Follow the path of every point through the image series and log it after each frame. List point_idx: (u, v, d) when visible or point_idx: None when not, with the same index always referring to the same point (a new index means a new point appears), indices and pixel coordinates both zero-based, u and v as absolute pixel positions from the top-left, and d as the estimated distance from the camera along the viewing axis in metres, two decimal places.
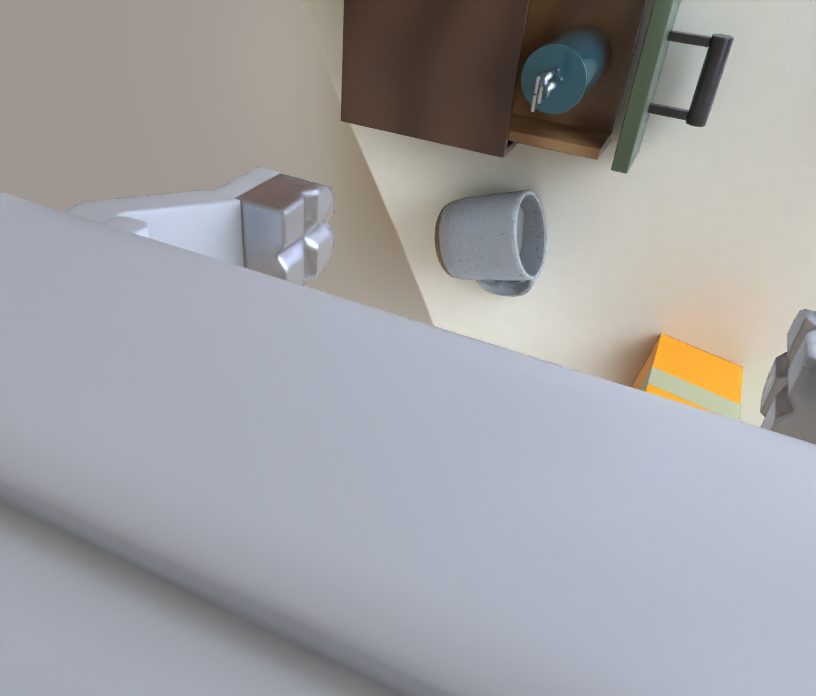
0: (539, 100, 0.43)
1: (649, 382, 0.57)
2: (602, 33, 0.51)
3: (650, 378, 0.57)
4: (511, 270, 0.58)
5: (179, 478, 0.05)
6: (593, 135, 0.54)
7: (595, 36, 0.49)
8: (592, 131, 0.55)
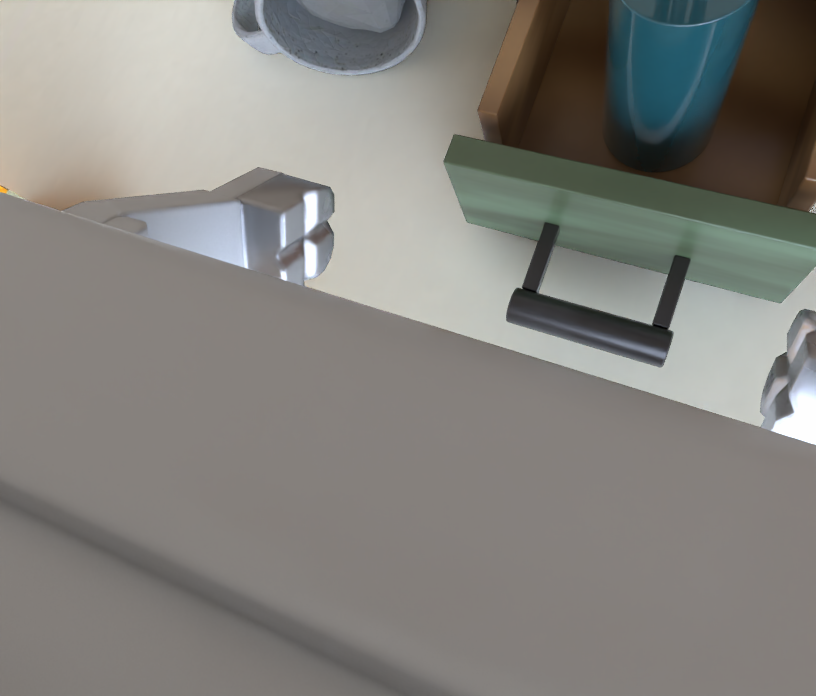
0: None
1: (10, 193, 0.27)
2: (697, 151, 0.27)
3: None
4: None
5: (177, 478, 0.05)
6: (514, 131, 0.29)
7: (709, 122, 0.26)
8: (519, 137, 0.30)
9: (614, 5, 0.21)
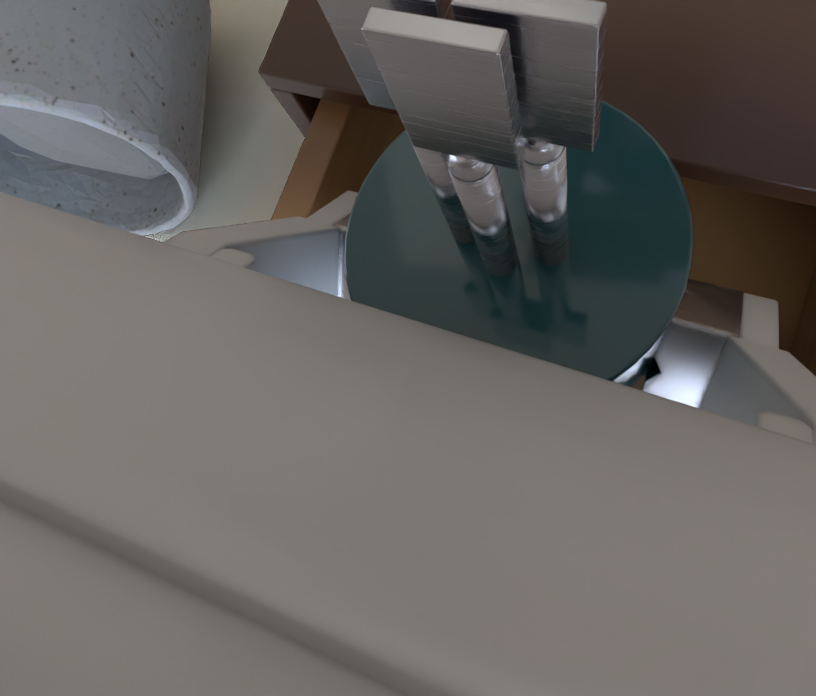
0: (390, 24, 0.05)
1: None
2: None
3: None
4: None
5: (177, 478, 0.05)
6: None
7: None
8: None
9: None
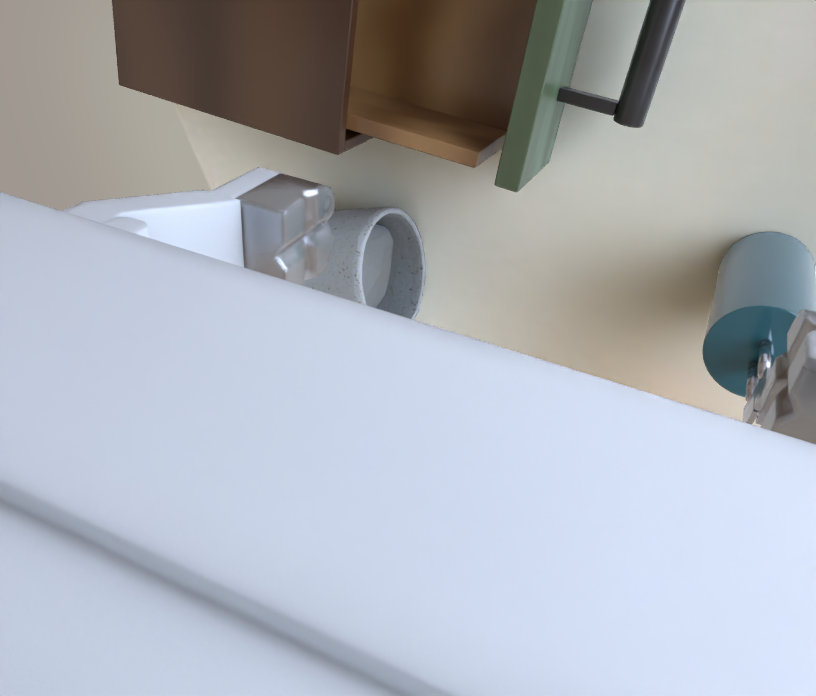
0: (761, 420, 0.25)
1: None
2: (807, 251, 0.34)
3: None
4: None
5: (177, 478, 0.05)
6: (478, 131, 0.36)
7: (805, 264, 0.32)
8: (480, 125, 0.36)
9: None
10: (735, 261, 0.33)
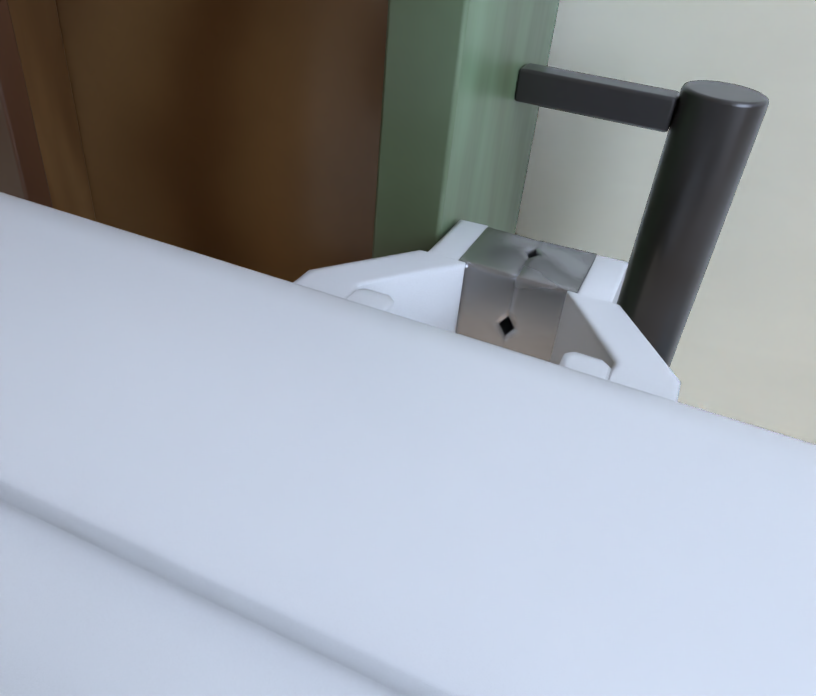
0: None
1: None
2: None
3: None
4: None
5: (177, 478, 0.05)
6: None
7: None
8: None
9: None
10: None
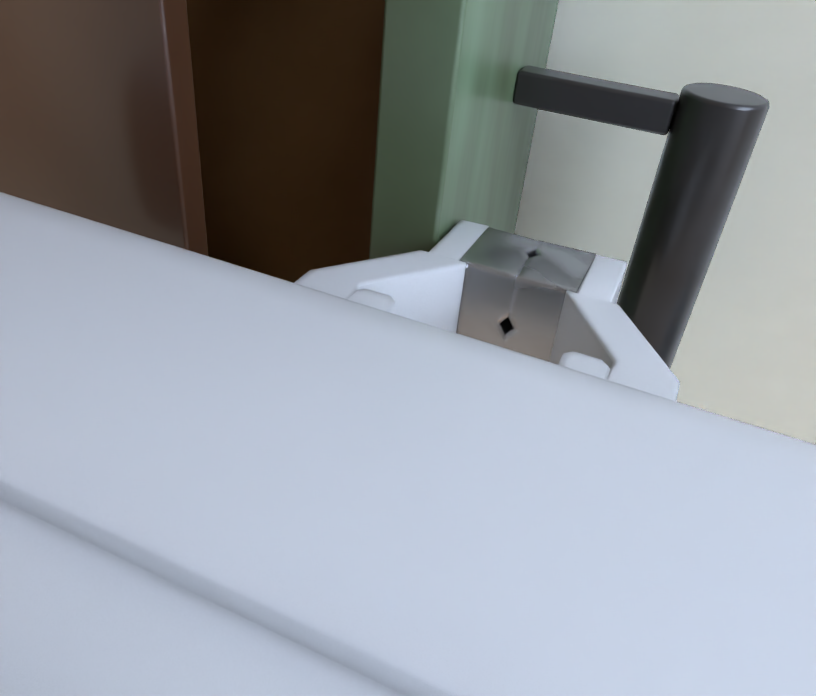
0: None
1: None
2: None
3: None
4: None
5: (177, 478, 0.05)
6: None
7: None
8: None
9: None
10: None
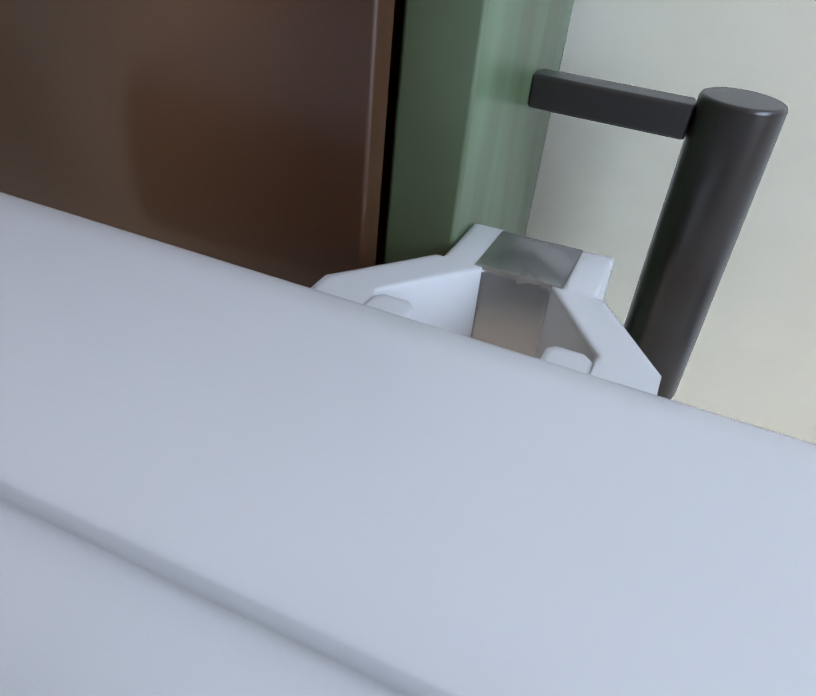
0: None
1: None
2: None
3: None
4: None
5: (177, 478, 0.05)
6: None
7: None
8: None
9: None
10: None
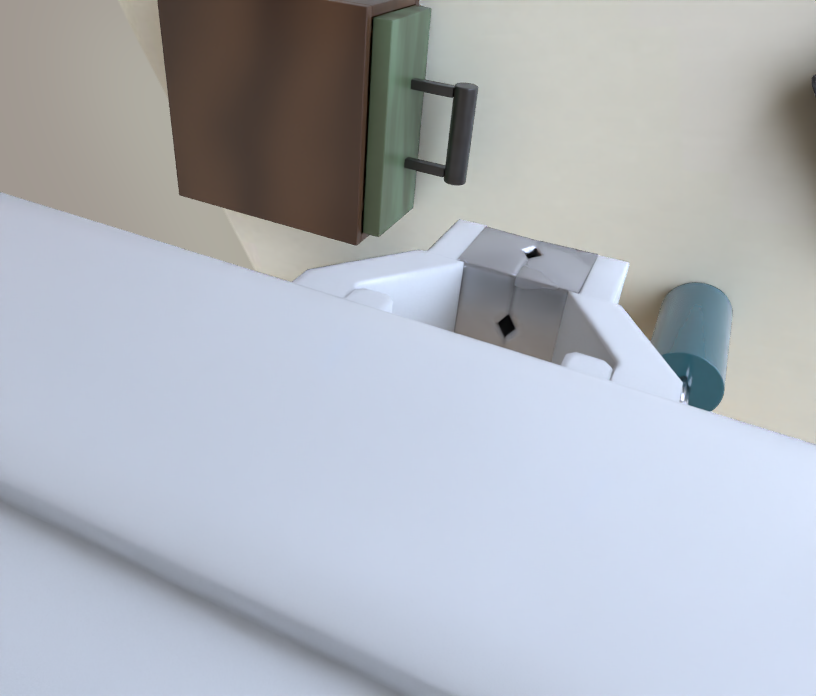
0: None
1: None
2: (723, 297, 0.44)
3: None
4: None
5: (177, 476, 0.05)
6: None
7: (719, 310, 0.42)
8: None
9: None
10: (667, 309, 0.43)
